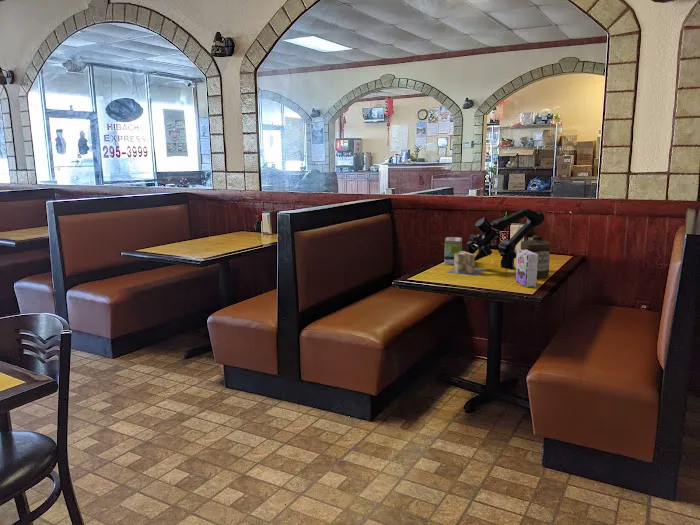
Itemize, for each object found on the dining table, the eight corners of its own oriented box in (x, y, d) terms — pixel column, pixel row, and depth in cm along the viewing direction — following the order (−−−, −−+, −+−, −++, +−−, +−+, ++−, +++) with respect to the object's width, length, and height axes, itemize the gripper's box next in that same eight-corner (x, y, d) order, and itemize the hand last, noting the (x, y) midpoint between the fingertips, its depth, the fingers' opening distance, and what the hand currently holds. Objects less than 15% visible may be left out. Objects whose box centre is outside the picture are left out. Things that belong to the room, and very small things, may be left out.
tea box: (461, 265, 325) (461, 240, 322) (444, 265, 327) (444, 240, 324) (461, 260, 339) (462, 236, 336) (444, 260, 341) (445, 236, 338)
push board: (487, 270, 311) (487, 267, 310) (476, 276, 295) (476, 273, 295) (458, 267, 320) (458, 264, 319) (446, 273, 304) (446, 270, 304)
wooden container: (528, 280, 286) (530, 237, 281) (514, 274, 300) (515, 233, 296) (554, 278, 289) (556, 236, 285) (538, 272, 303) (540, 232, 299)
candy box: (514, 281, 284) (516, 249, 281) (525, 280, 284) (527, 249, 281) (525, 287, 270) (526, 254, 267) (537, 287, 271) (538, 254, 268)
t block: (463, 268, 314) (463, 251, 312) (474, 272, 302) (474, 254, 300) (450, 269, 311) (450, 252, 309) (461, 274, 300) (461, 255, 298)
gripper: (469, 226, 314) (452, 247, 313) (487, 230, 296) (468, 252, 295) (481, 239, 318) (464, 260, 317) (500, 244, 300) (481, 266, 299)
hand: (469, 259), depth 307 cm, fingers open, 9 cm apart
